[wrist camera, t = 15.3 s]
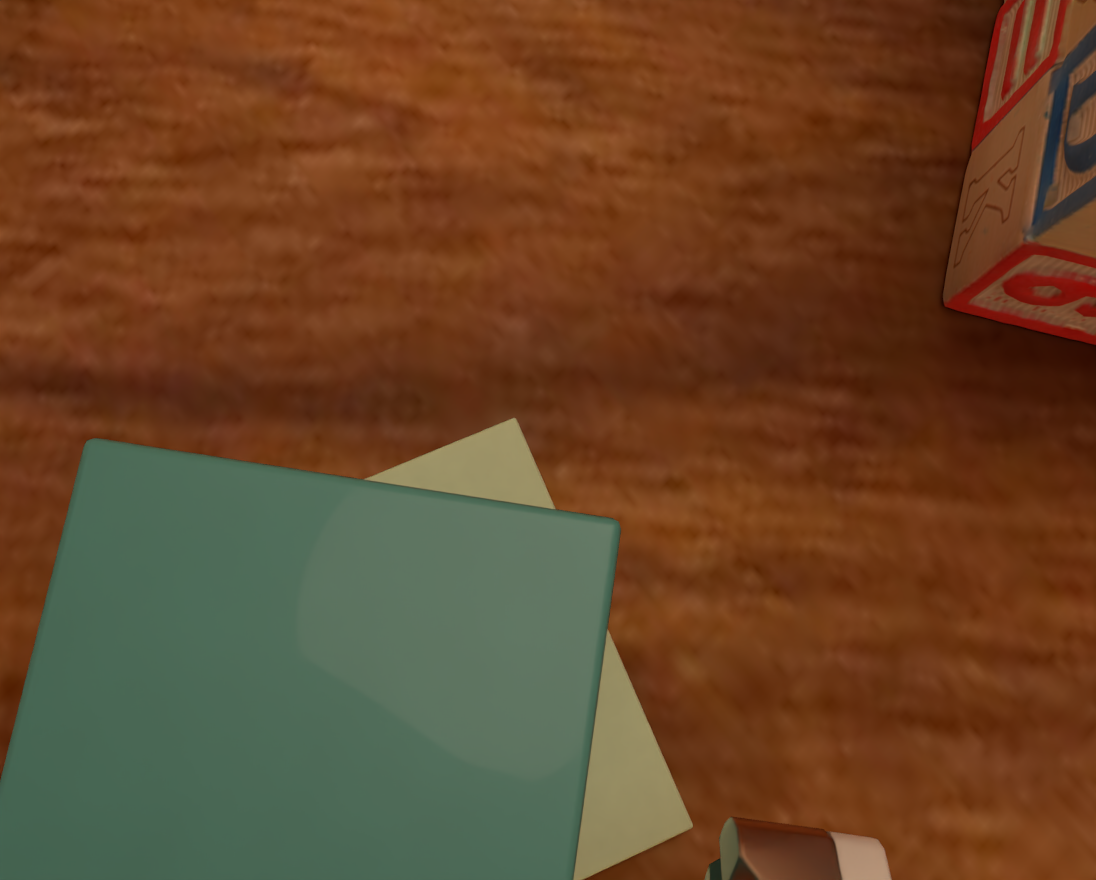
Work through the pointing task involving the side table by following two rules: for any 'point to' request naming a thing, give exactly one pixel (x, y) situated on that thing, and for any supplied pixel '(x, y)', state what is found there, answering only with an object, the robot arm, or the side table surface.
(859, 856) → the robot arm
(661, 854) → the side table surface
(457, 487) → the sage mat
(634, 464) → the side table surface
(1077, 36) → the stack of blocks
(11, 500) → the side table surface
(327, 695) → the teal block
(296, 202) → the side table surface
